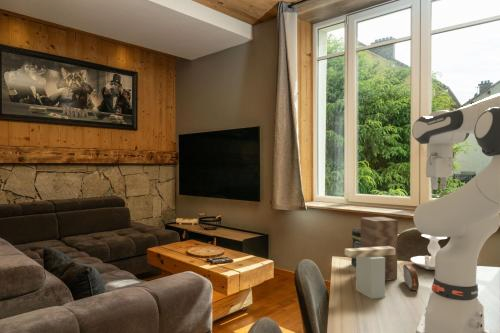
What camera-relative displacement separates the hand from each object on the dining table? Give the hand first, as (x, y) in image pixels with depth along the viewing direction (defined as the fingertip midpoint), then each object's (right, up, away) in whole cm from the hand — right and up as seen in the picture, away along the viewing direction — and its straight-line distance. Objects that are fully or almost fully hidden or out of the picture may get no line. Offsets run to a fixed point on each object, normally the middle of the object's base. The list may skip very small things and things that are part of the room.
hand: (439, 189), depth 134 cm
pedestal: (-26, -41, +1) cm, 49 cm away
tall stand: (-15, -41, +22) cm, 49 cm away
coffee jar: (-18, -41, +38) cm, 59 cm away
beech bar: (-26, -26, +1) cm, 37 cm away
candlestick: (+16, -41, +34) cm, 56 cm away
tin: (-7, -41, +9) cm, 43 cm away
